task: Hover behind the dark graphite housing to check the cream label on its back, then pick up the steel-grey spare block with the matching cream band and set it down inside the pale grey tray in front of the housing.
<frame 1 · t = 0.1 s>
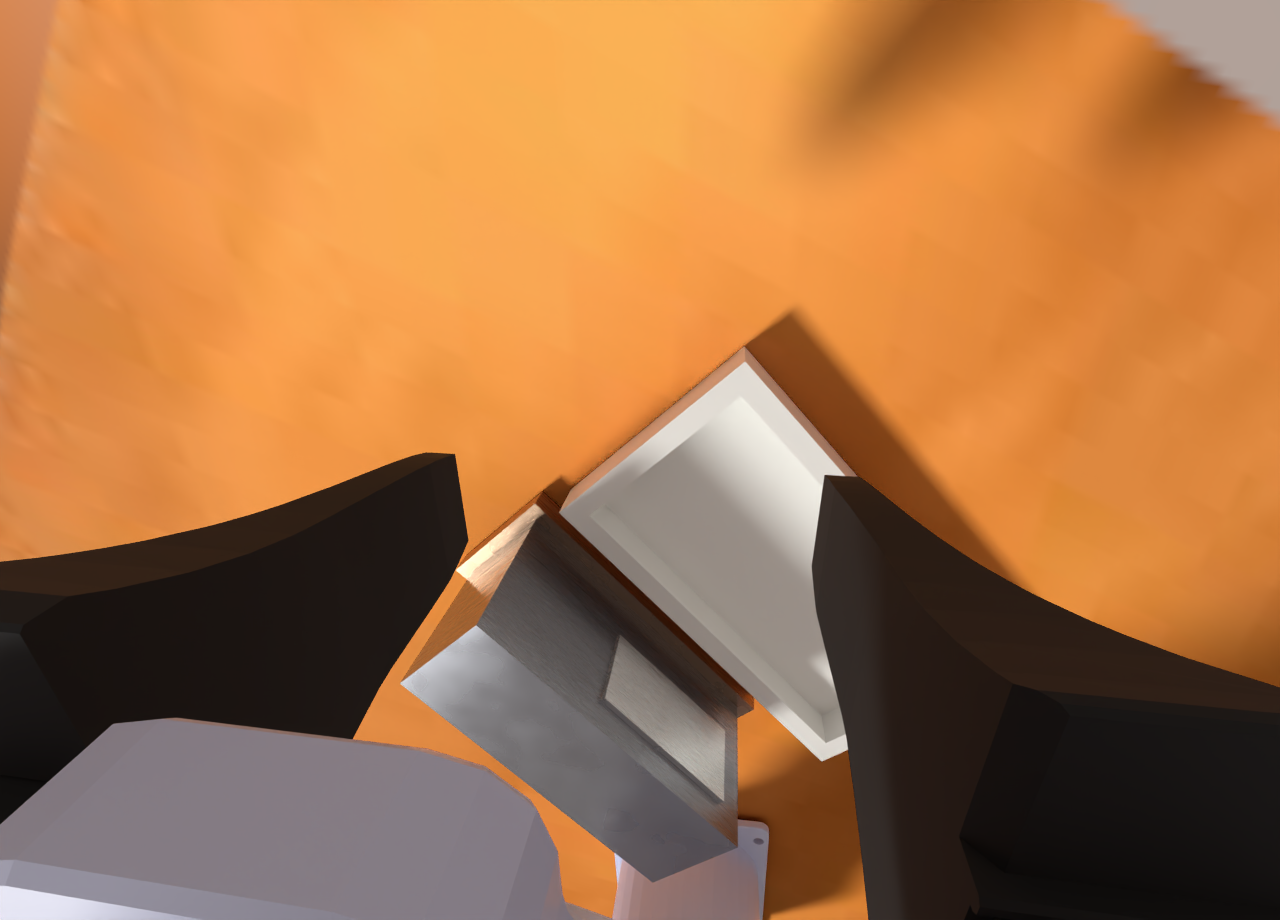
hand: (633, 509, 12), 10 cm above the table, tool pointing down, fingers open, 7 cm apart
mounted housing: (612, 624, 26), on the table
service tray: (785, 564, 24), on the table
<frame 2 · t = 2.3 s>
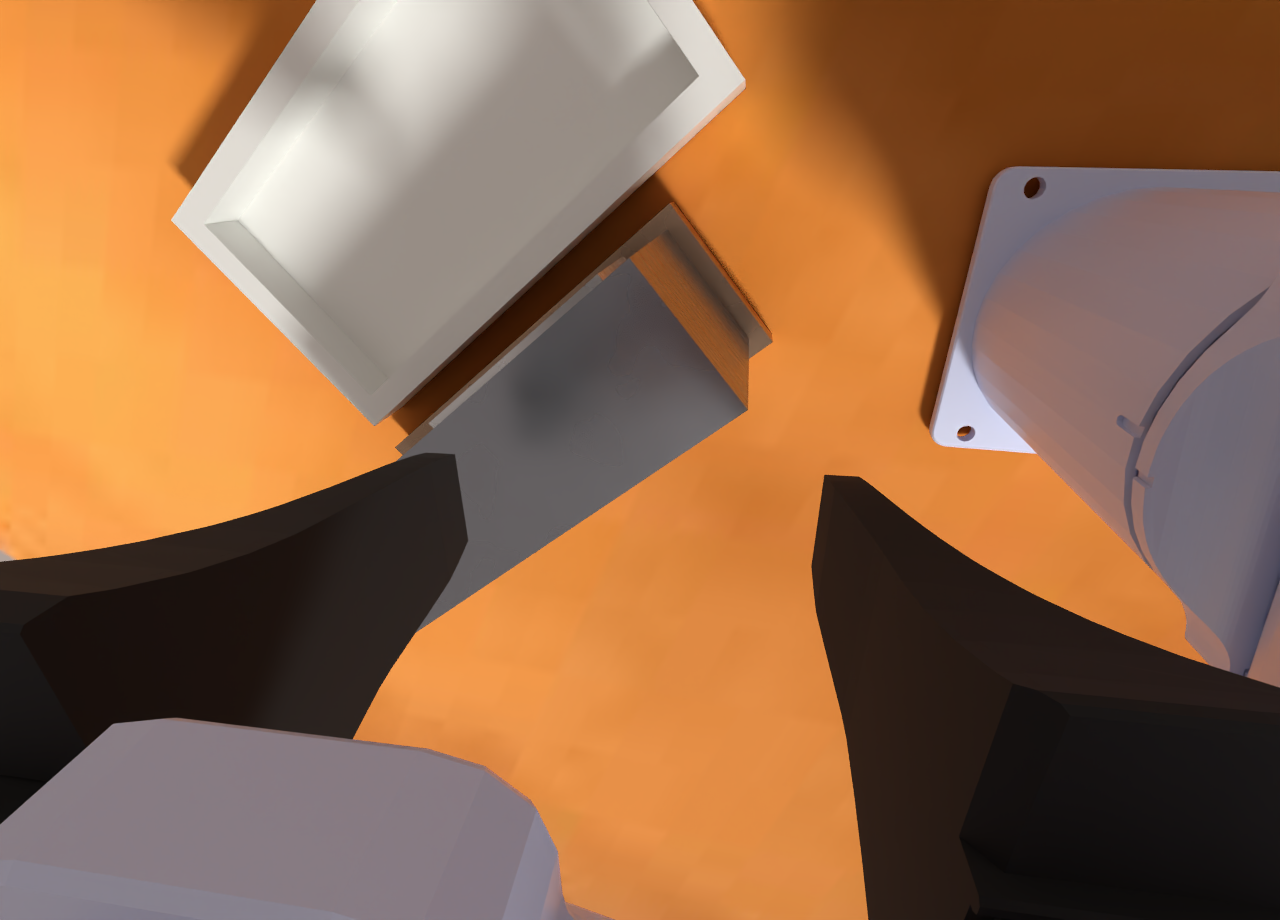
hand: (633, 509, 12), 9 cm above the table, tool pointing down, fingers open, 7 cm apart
mounted housing: (573, 390, 21), on the table
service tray: (451, 159, 18), on the table
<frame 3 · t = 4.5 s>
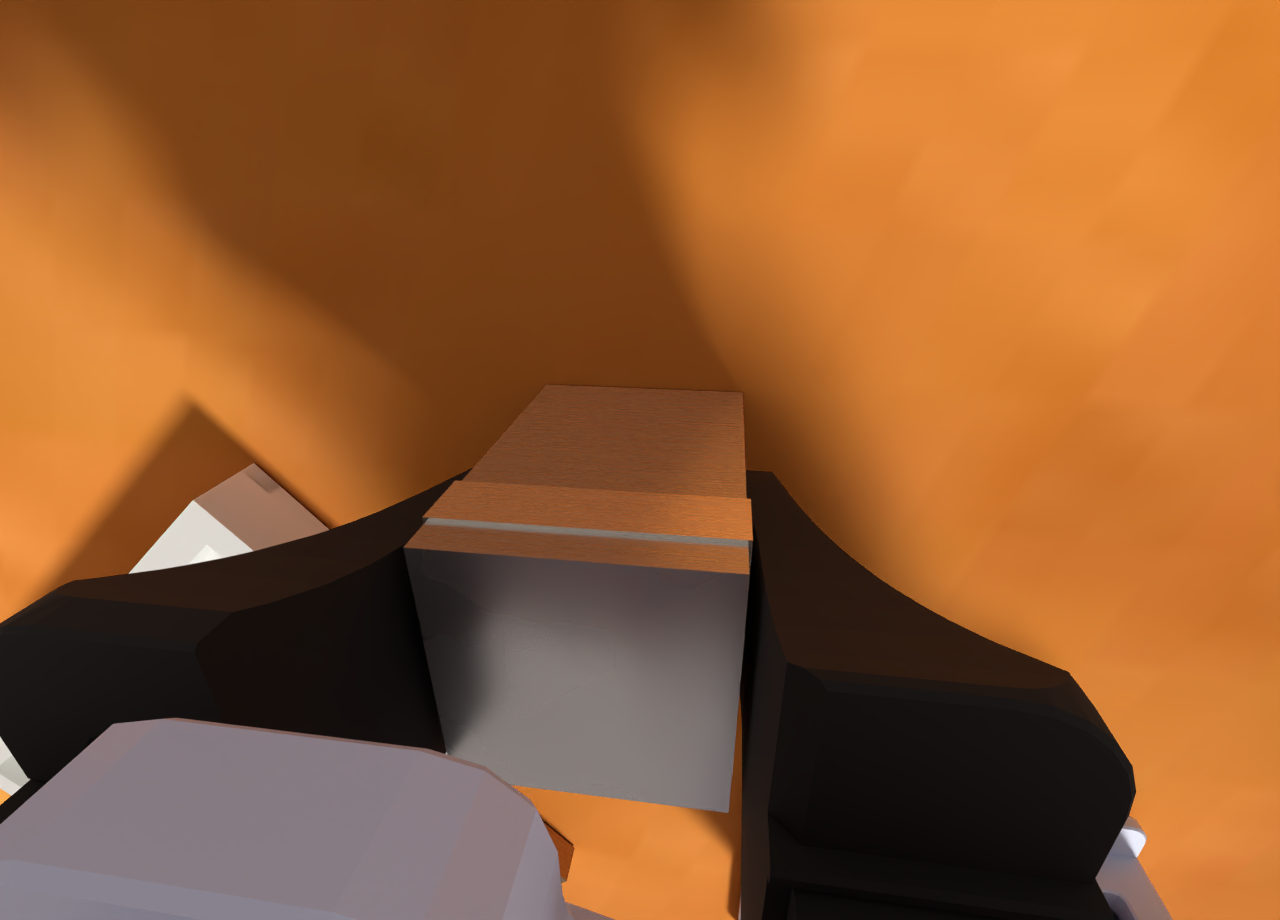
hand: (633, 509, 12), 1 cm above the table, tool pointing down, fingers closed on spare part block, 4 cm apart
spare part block: (642, 476, 13), on the table, touching gripper
mounted housing: (394, 864, 21), on the table
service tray: (240, 704, 18), on the table
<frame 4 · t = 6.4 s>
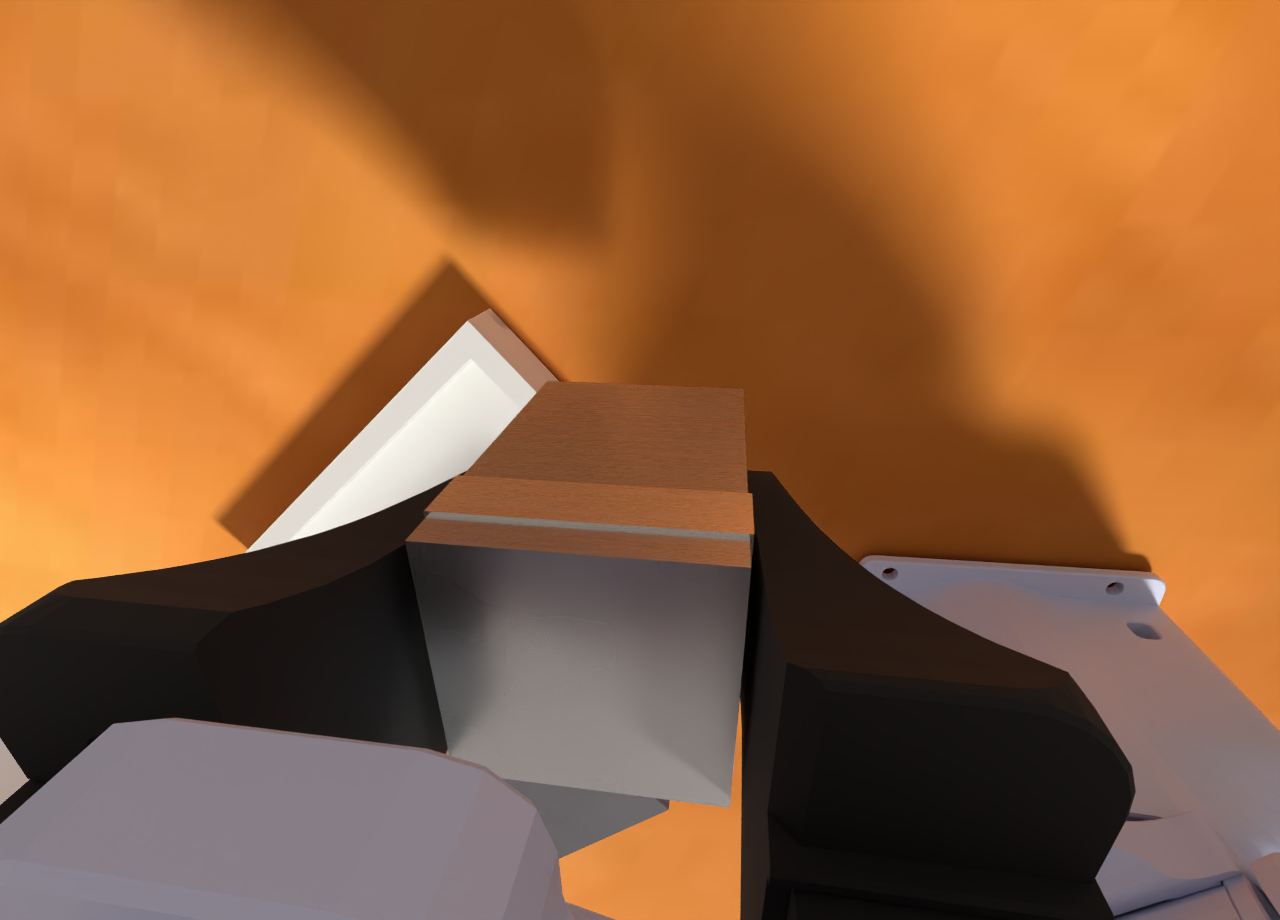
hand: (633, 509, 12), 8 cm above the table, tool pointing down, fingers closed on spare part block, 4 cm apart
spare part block: (643, 473, 13), point 7 cm above the table, touching gripper
mounted housing: (548, 674, 26), on the table
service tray: (441, 527, 23), on the table
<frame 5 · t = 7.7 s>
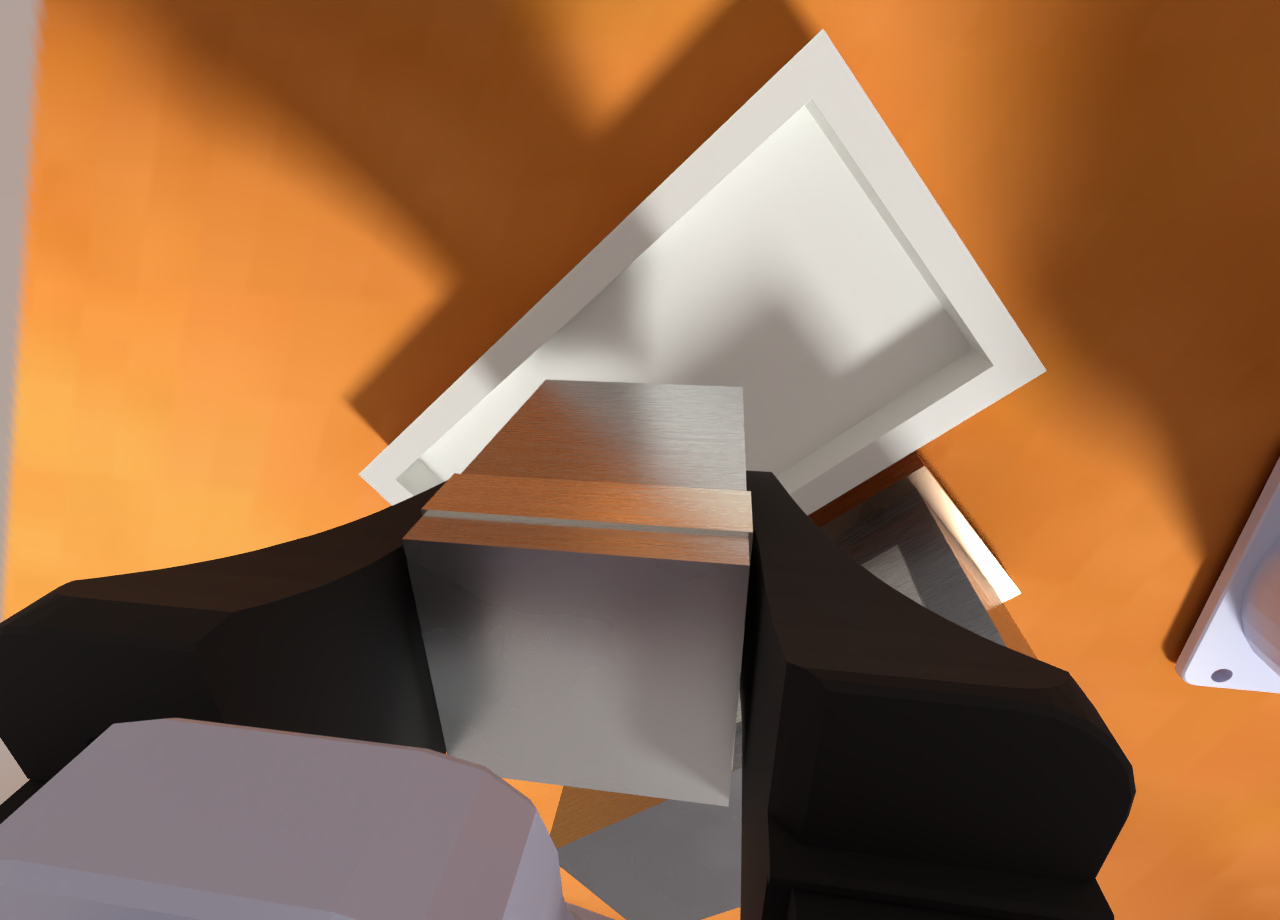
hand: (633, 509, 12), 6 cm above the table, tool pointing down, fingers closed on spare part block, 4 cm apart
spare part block: (642, 471, 13), point 4 cm above the table, touching gripper
mounted housing: (773, 615, 20), on the table
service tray: (666, 404, 17), on the table
when the fingers open (4 cm above the table, at t = 8.5 s): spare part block drops 2 cm, resting on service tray.
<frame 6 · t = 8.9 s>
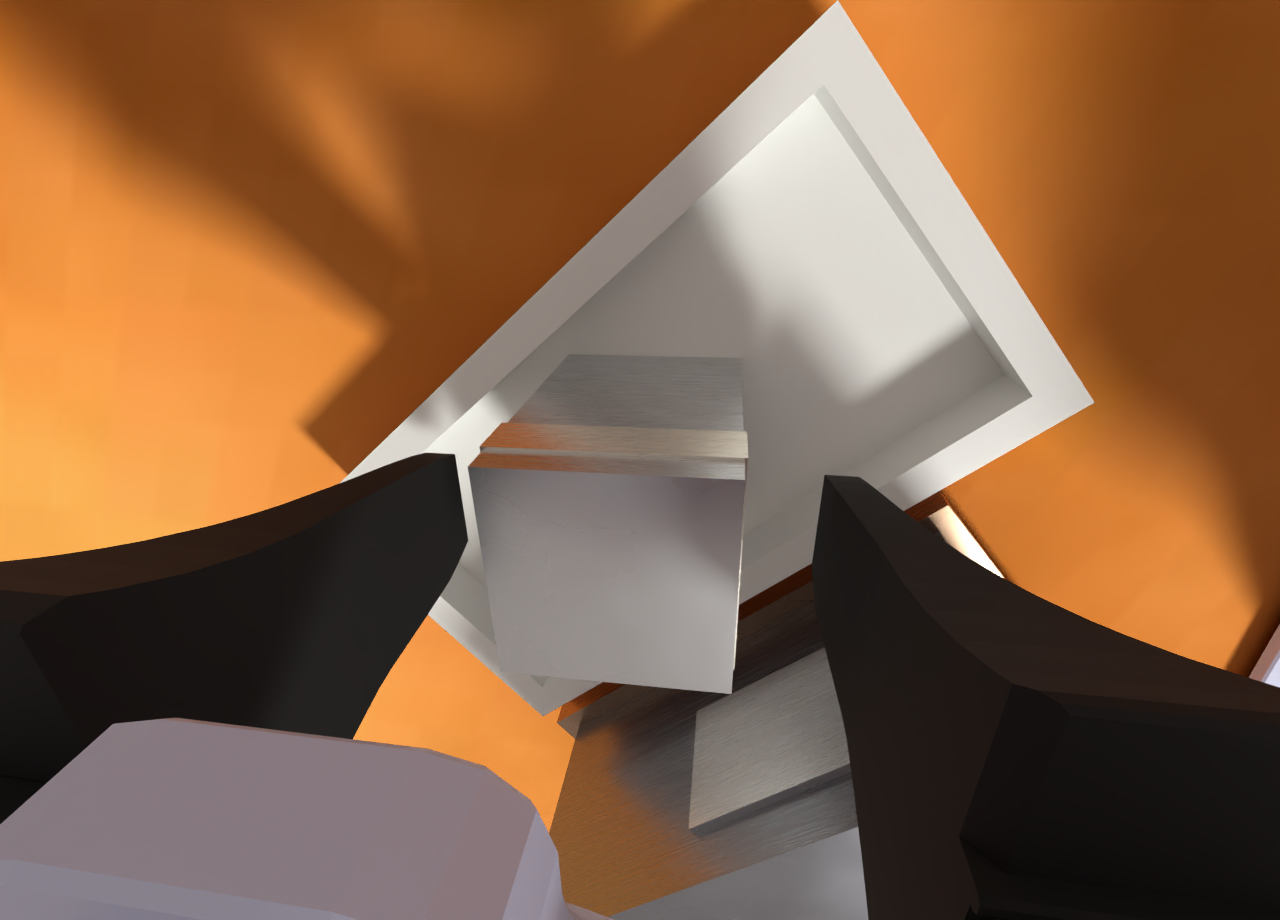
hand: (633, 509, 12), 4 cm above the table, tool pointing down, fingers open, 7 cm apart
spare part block: (653, 435, 15), resting on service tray
mounted housing: (775, 662, 18), on the table
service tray: (655, 433, 15), on the table
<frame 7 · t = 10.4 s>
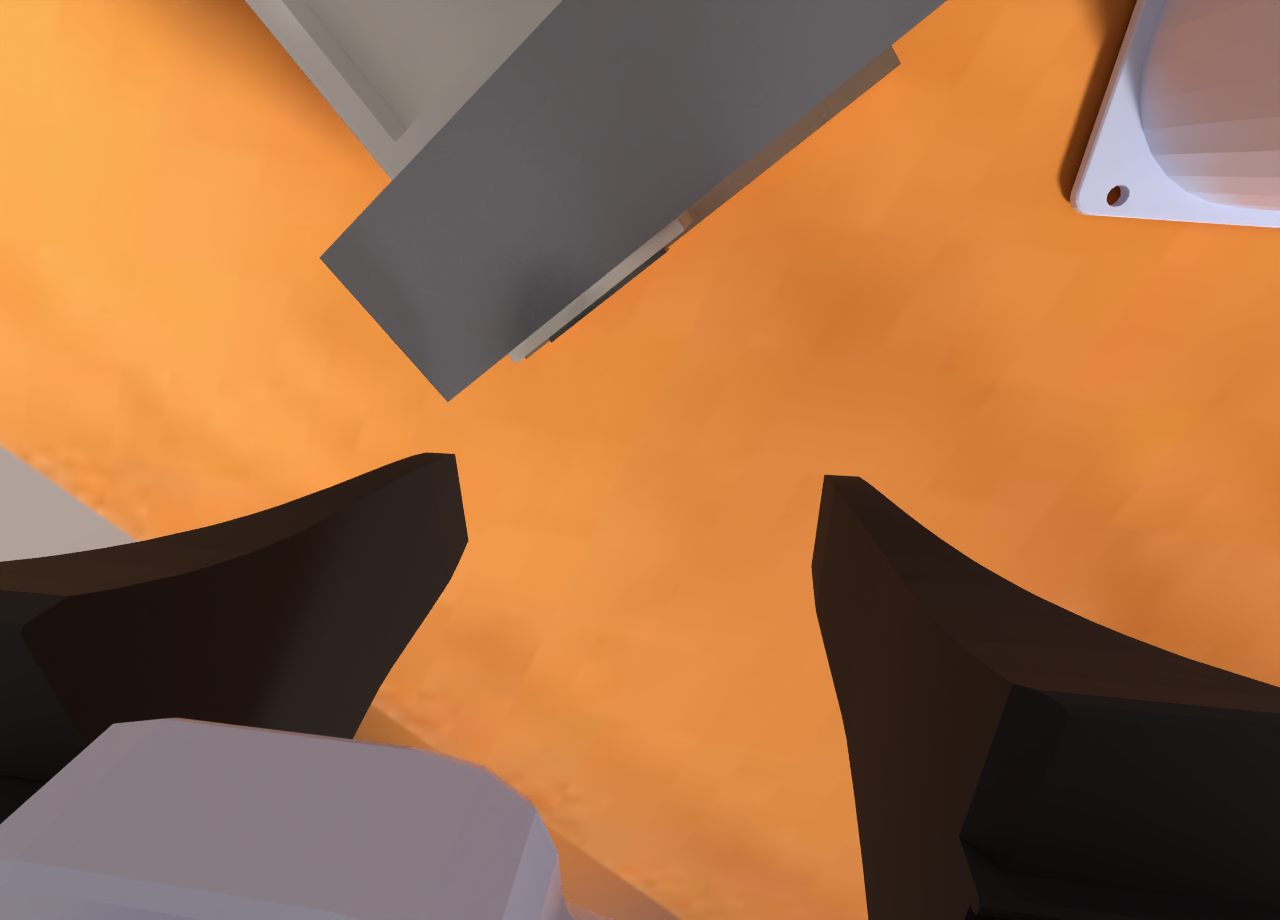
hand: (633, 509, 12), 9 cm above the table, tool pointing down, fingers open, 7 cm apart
mounted housing: (640, 155, 18), on the table
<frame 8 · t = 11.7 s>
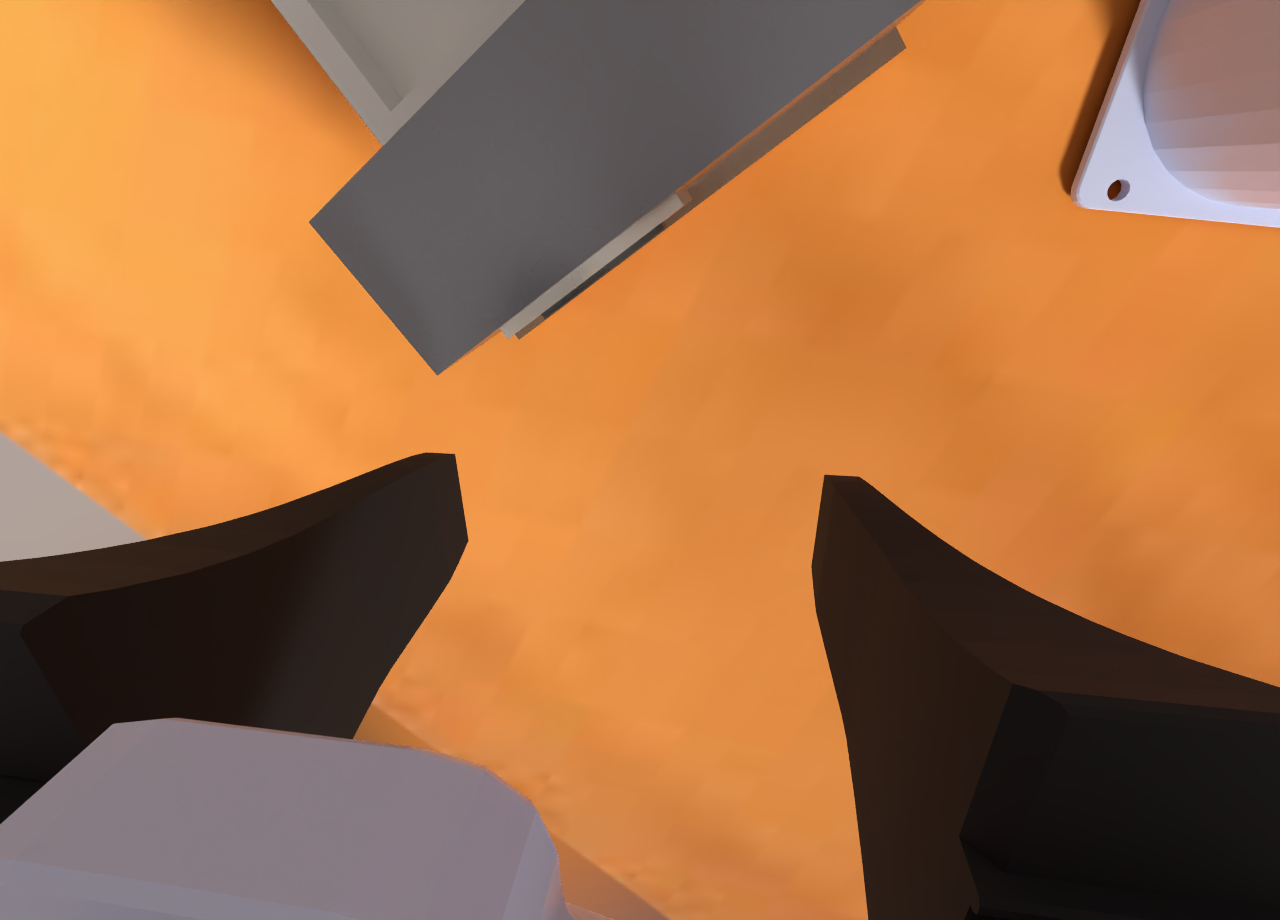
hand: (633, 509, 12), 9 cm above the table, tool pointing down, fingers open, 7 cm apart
mounted housing: (640, 134, 17), on the table
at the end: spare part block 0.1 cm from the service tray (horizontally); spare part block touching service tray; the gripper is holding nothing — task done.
